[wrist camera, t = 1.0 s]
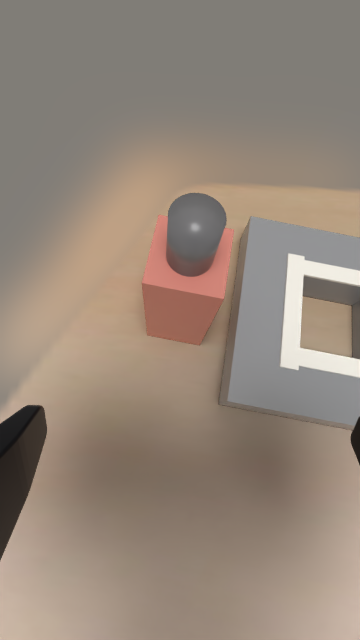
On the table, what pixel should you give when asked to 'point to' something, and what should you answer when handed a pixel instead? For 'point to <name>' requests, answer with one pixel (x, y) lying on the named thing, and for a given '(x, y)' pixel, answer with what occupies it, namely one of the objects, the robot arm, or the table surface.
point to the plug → (187, 269)
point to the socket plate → (291, 325)
